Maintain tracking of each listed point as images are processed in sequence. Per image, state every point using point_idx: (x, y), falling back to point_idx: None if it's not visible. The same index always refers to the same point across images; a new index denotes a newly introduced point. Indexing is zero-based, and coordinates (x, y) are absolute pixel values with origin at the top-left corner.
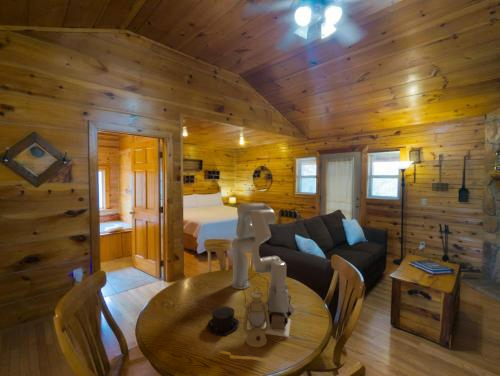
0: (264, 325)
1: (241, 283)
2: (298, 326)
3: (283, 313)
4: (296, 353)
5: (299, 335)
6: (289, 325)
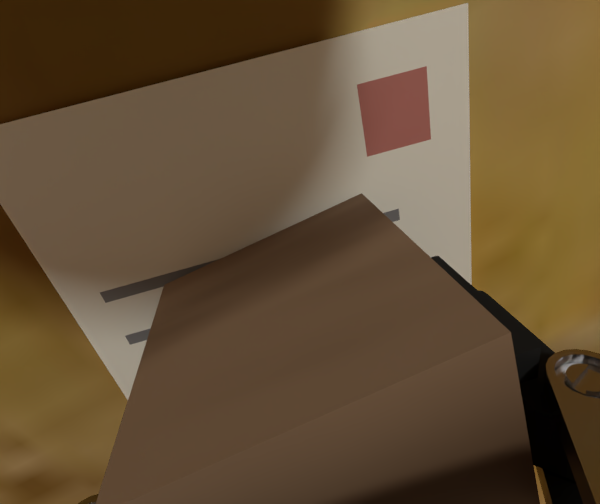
0: (125, 393)
1: None
2: (590, 157)
3: (514, 460)
4: (541, 498)
5: (583, 323)
6: (463, 215)
